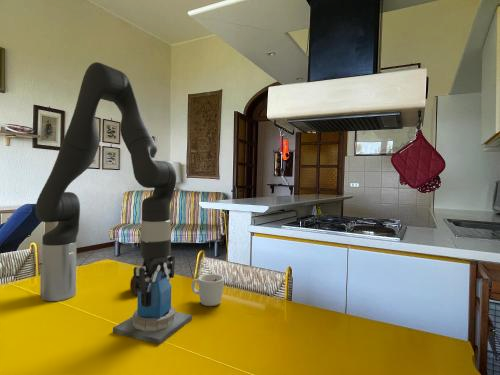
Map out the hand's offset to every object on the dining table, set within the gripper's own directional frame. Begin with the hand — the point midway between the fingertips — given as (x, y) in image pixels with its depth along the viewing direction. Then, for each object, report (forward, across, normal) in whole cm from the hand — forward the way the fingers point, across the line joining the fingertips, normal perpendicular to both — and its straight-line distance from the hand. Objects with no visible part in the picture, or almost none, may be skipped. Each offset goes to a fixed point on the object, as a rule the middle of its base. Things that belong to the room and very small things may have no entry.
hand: (155, 300), depth 81 cm
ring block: (+7, 0, 0) cm, 7 cm away
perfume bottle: (+3, 0, 0) cm, 3 cm away
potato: (+7, -18, -20) cm, 28 cm away
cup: (+7, -19, +5) cm, 21 cm away
